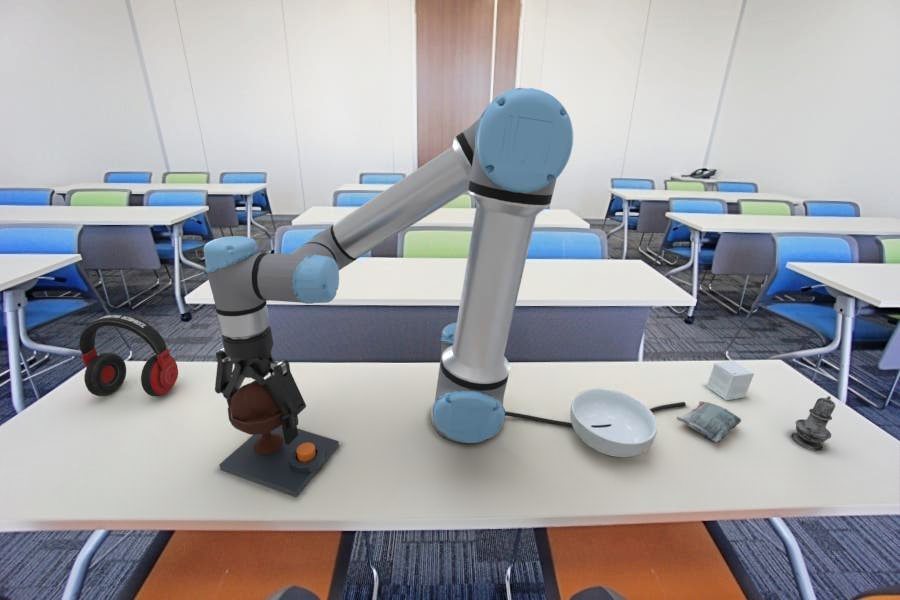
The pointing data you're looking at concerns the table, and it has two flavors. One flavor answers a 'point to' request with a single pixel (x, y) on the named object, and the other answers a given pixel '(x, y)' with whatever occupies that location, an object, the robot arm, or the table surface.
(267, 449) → the ice cream bowl
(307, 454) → the button
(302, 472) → the scale
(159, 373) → the headphones
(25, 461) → the table surface
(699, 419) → the packaged food
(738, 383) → the product box
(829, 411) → the grey chess piece
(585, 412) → the cereal bowl
